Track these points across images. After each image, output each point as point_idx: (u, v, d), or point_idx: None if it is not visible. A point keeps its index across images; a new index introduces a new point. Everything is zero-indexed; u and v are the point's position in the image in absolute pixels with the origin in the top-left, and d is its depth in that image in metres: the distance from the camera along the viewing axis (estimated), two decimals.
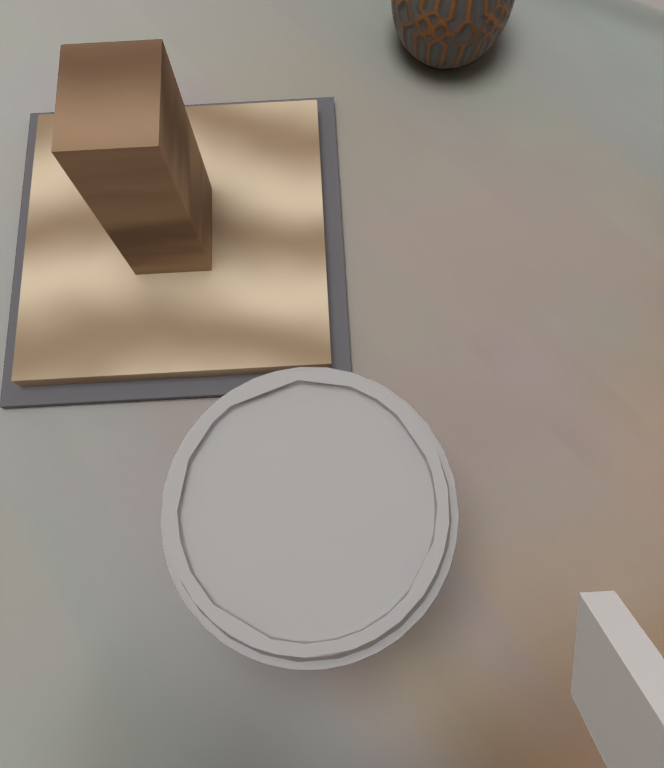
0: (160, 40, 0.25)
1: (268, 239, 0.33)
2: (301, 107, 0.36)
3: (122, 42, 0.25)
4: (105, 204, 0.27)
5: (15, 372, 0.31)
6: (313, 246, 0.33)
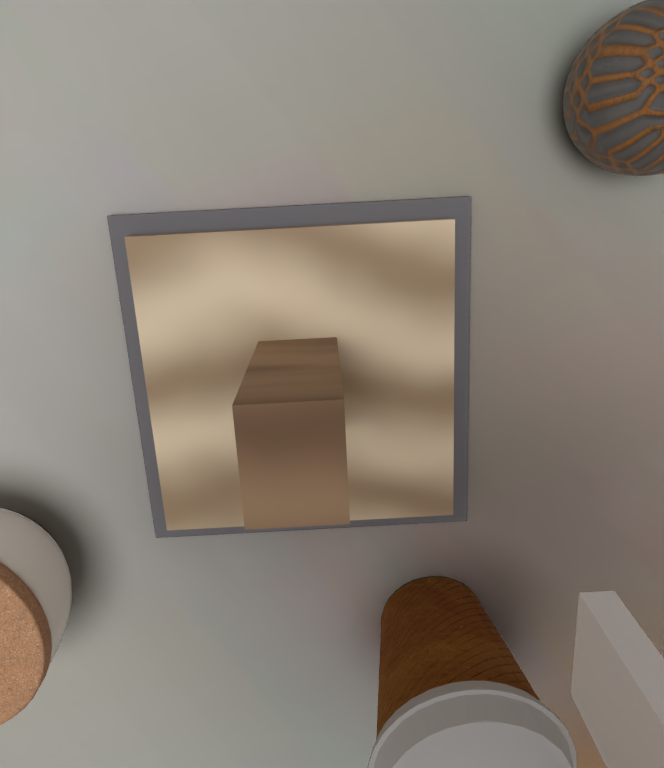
0: (342, 400, 0.22)
1: (396, 396, 0.33)
2: (436, 230, 0.30)
3: (300, 403, 0.22)
4: None
5: (169, 523, 0.35)
6: (442, 404, 0.33)
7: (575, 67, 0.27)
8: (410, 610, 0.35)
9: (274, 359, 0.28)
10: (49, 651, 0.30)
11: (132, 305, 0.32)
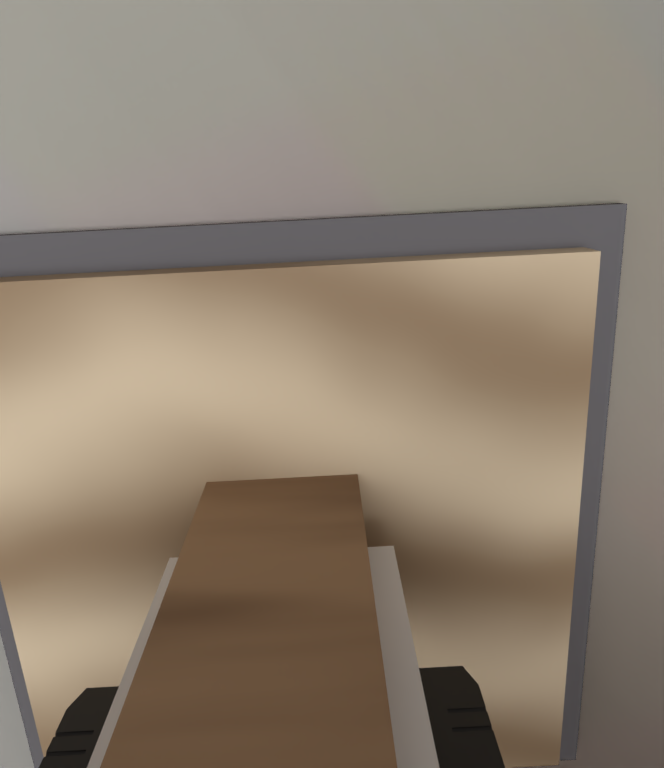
0: None
1: (468, 576, 0.18)
2: (562, 273, 0.15)
3: None
4: None
5: None
6: (552, 589, 0.18)
7: None
8: None
9: (227, 563, 0.13)
10: None
11: None
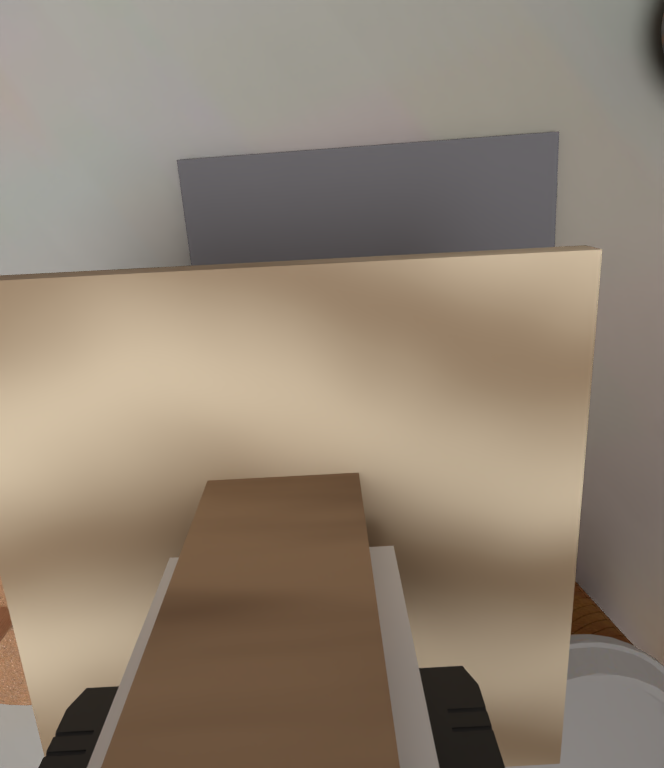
0: None
1: (469, 574, 0.18)
2: (563, 271, 0.15)
3: None
4: None
5: None
6: (553, 587, 0.18)
7: None
8: None
9: (228, 562, 0.13)
10: None
11: (202, 255, 0.31)
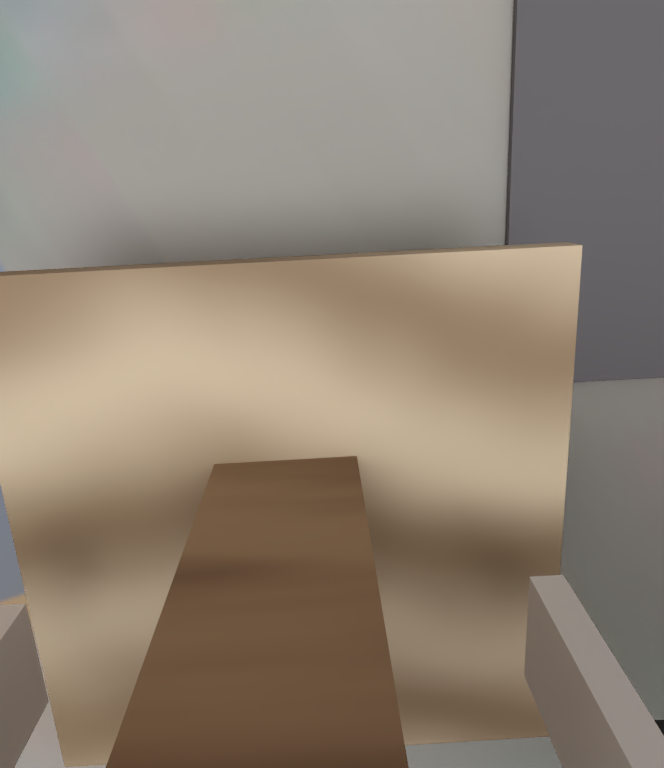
0: None
1: (461, 553, 0.19)
2: (546, 265, 0.16)
3: None
4: None
5: (68, 756, 0.20)
6: (540, 565, 0.19)
7: None
8: None
9: (236, 533, 0.14)
10: None
11: (531, 41, 0.23)
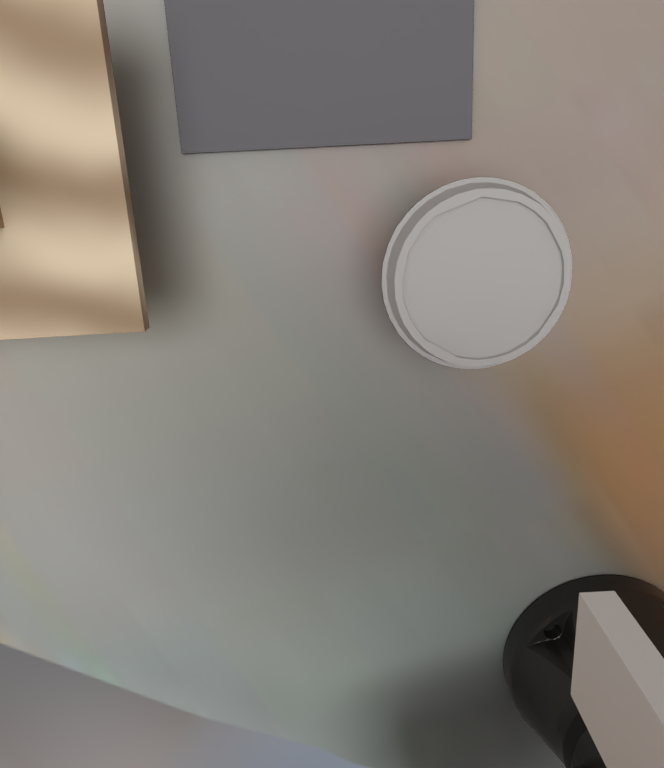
0: None
1: (60, 188, 0.30)
2: None
3: None
4: None
5: None
6: (112, 198, 0.30)
7: None
8: None
9: None
10: None
11: None
